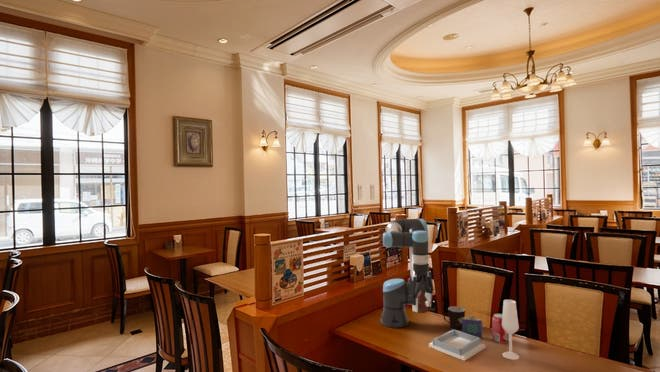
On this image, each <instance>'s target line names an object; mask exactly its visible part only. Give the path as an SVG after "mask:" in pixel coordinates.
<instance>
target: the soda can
mask: <svg viewBox="0 0 660 372" xmlns="http://www.w3.org/2000/svg"><path fill="white" fill-rule="evenodd" d="M502 314H503V313H494V314H493V315H492V319H491V330H492V339H493V340H494V341H495V342H497V343H501V344H502V343H503V344H504V343H507V342H509V334H508V333H507V332H506V331H505V330H504V329H503V327H502Z"/></svg>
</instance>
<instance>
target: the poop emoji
mask: <svg viewBox="0 0 660 372" xmlns="http://www.w3.org/2000/svg"><path fill="white" fill-rule="evenodd" d="M417 298H418V312H416V313H417V314H426V313H428V311H429V310H430V308H431V307H430V304H431V305H432V301H430V299H426V297H425V296H424V293H423V291H420V292H419V293H418V294H417Z"/></svg>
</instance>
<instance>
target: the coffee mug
mask: <svg viewBox="0 0 660 372" xmlns="http://www.w3.org/2000/svg"><path fill="white" fill-rule="evenodd" d="M447 315H448V319H449V320H447V319H446V316H447ZM465 317H466V309H465V308H464V307H461V306H449V307H448V308H447V312H445V313H444V315H443V320H444V321H445V322H447V323H448V324H449V326H450V329H451V330H453V329H454V330H460V331H463V324H462V318H465Z"/></svg>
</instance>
